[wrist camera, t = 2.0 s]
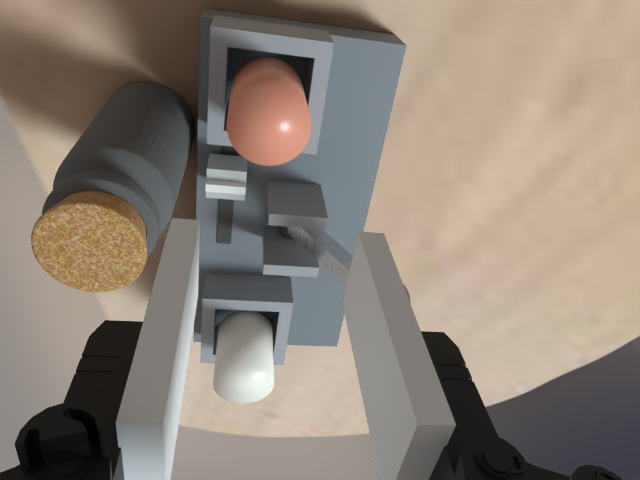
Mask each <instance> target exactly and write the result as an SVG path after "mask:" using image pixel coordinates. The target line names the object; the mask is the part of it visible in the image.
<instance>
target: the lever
mask: <svg viewBox="0 0 640 480" xmlns="http://www.w3.org/2000/svg"><path fill="white" fill-rule="evenodd" d="M278 233H279V234H280V235H281V236H282V237H284V238H287V239H295V240H296V241H297V242H298V243H300V244H301V245H302V246H303V247H304V248H305V249H306V250H307V251H308V252H309V253H310V254H311V255H312V256H313V257H314V258H316V259H317V260H318V261H319V262H320V263H321V264H322V265H323V266H324V267H325V268H326V269H327V270H328V271H329V272H330V273H332V274H333V275H334V276H335V277H336V278H337V279H338V280H339V281H340V282H341V283H342V284H343V285H344V286H345V287H346V285H347V281H348V277H349V272H350V268H351V263H352V259H353V255H352V254H350V253H349V252H348V251H347V250H346V249H345V248H343V247H342V246H341V245H340V244H339V243H338V242H336V241H335V240H334V239H333V238H332V237H331V236H329V235H328V234H327V233H326V232H325V231H324V230H322V229H315V228H302V227H288V226H279V230H278ZM403 286H404V284H403ZM404 288H405V291H406V294H407V296H408V299H409V302H410V295H409V293H408V290H407V288H406V287H405V286H404Z"/></svg>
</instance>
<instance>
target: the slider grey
mask: <svg viewBox="0 0 640 480" xmlns="http://www.w3.org/2000/svg"><path fill="white" fill-rule="evenodd" d="M246 178H247V159H245V158H244V157H242V156H231V155H221V154H209V160H208V165H207V178H206V188H205V192H206V198H217V199H230V200H242V201H245V193H246Z"/></svg>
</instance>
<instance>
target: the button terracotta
mask: <svg viewBox="0 0 640 480" xmlns="http://www.w3.org/2000/svg"><path fill="white" fill-rule="evenodd" d="M227 133H228V137H229V139H230V142H231V144H232V145H233V147H234V148H235V150H236V151H237V152H238V153H239V154H240V155H241V156H243V157H244V158H245V159H247V160H249V161H251V162H253V163H256V164H259V165H265V166H274V165H280V164H283V163H286V162H288V161H290V160H292V159H294V158H295V157H296V156H298V155H299V154H300V153H301V152H302V151H303V149H304V148H305V146H306V145H307V143H308V140H309V138H310V134H311V118H310V114H309V110H308V105H307V101H306V97H305V93H304V89H303V85H302V82H301V79H300V77H299V75H298V74H297V72H296V71H295V70H294V69H293V67H291V66H290V65H289V64H288V63H286V62H284V61H282V60H280V59H277V58H273V57H260V58H256V59H253V60H251V61H249V62H247V63H246V64H244V65H243V66H242V67H241V68H240V69H239V70H238V72H237V73H236V75H235V77H234V79H233V82H232V87H231V94H230V101H229V108H228V115H227Z"/></svg>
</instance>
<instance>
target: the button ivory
mask: <svg viewBox="0 0 640 480" xmlns="http://www.w3.org/2000/svg"><path fill="white" fill-rule="evenodd" d="M213 386H214V389H215V391H216V393H217V394H218V395H219V396H220V397H222V398H223V399H225V400H227V401H230V402H234V403H252V402H256V401H258V400H261V399H263V398H264V397H266V396H267V395H268V394H269V393H270V392H271V391H272V389H273V386H274V365H273V335H272V325H271V323H270V321H269V320H268V319H267V318H266V317H265V316H263V315H261V314H259V313H257V312H253V311H239V312H235V313H232V314H230V315H228V316H227V317H225V318H224V319H223V320H222V321H221V323H220V325H219V329H218V339H217V349H216V360H215V371H214V382H213Z"/></svg>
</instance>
